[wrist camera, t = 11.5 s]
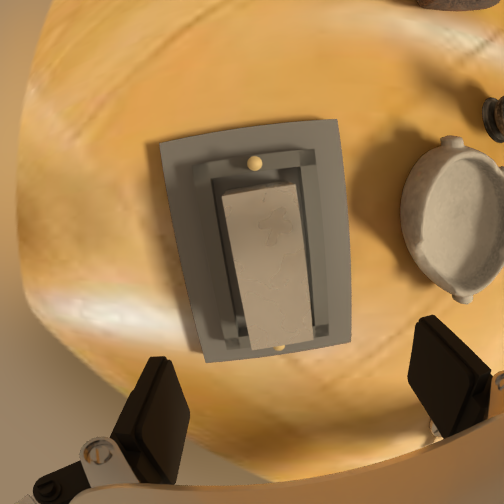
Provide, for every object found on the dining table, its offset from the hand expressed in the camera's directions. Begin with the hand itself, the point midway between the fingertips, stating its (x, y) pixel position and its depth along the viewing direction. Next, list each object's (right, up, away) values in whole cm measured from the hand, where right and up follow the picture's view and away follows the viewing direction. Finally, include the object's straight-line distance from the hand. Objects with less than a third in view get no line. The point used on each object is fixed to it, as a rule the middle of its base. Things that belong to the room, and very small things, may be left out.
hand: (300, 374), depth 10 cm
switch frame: (-1, +5, +15) cm, 16 cm away
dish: (+18, +8, +15) cm, 25 cm away
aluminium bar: (0, +4, +14) cm, 15 cm away
